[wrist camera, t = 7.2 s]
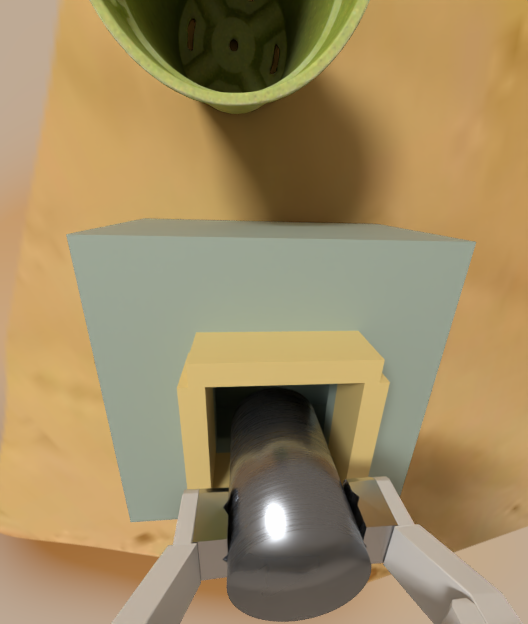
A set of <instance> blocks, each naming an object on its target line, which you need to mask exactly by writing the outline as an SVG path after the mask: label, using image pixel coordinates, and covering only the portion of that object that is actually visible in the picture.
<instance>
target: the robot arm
mask: <svg viewBox="0 0 528 624" xmlns="http://www.w3.org/2000/svg"><path fill="white" fill-rule="evenodd" d="M343 488H344V491H345V494H346V496H347V499H348V502H349V504H350V507H351V510H352V512H353V515H354V518H355V520H356V523H357V526H358V528H359V531H360V534H361V536H362V539H363V542H364V544H365V547H366V550H367V552H368V555H369V558H370V561H371V564H373V563H384V564H383V565H384V566H385V567H386V568H387V569H388V571H389V572H390V573H391V574H392V575H393V576H394V578H395V579H396V580H397V581H398V582H399V583H400V585H401V586H402V587H403V588H404V589H405V590H406V592H407V593H408V594H409V595H410V596H411V597H412V599H413V600H414V601H415V602H416V603H417V605H418V606H419V607H420V608H421V609H422V610H423V612H424V613H425V614H426V615H427V616H428V617H429V619H430V620H431V621H432V622H433V623H434V624H522V622H521V621H520V619H519V617H518V616H517V614H516V613H515V611H514V610H513V609H512V607H511V605H510V604H509V602H508V601H507V600H506V598H505V597H504V595H503V594H502V592H500V591H499V590H498V589H497V588H496V587H494V586H493V585H492V584H491V583H490V582H488V581H487V580H486V579H484V577H482V576H481V575H480V574H479V573H477V572H476V571H475V570H474V569H473V568H471V567H470V566H469V565H468V564H467V563H465V562H464V561H463V560H462V559H461V558H459V557H458V556H457V555H456V554H454V553H453V552H452V551H451V550H450V549H448V548H447V547H446V546H445V545H444V544H442V543H441V542H440V541H439V540H438V539H436V538H435V537H434V536H433V535H431V534H430V533H429V532H428V531H427V530H425V529H424V528H423V527H422V526H421V525H419V524H414V522H413V520H412V518H411V517H410V515H409V513H408V511H407V510H406V508H405V506H404V504H403V502H402V501H401V499H400V497H399V495H398V493H397V492H396V490H395V488H394V486H393V484H392V483H391V481H390V479H389V478H388V477H387V476H381V477H363V478H351V479H345V480H344V481H343ZM228 521H229V487H226V488H205V489H186V490H184V492H183V495H182V499H181V505H180V510H179V515H178V521H177V526H176V532H175V537H174V542H173V545H168V546H167V548H166V549H165V550H164V552H163V553H162V555H161V556H160V557H159V559H158V560H157V562H156V563H155V564H154V565H153V567H152V568H151V570H150V571H149V572H148V574H147V575H146V576H145V578H144V579H143V580H142V582H141V583H140V585H139V586H138V587H137V589H136V590H135V592H134V593H133V594H132V596H131V597H130V598H129V600H128V601H127V602H126V604H125V605H124V607H123V608H122V609H121V611H120V612H119V613H118V615H117V616H116V617H115V619H114V620H113V621H112V623H111V624H180V622H181V621H182V619H183V617H184V614H185V613H186V611H187V609H188V607H189V605H190V603H191V601H192V599H193V597H194V595H195V593H196V591H197V589H198V587H199V585H200V583H201V580H208V579H216V578H223V577H227V559H228V535H229V525H228Z"/></svg>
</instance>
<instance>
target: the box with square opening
mask: <svg viewBox="0 0 528 624" xmlns="http://www.w3.org/2000/svg"><path fill="white" fill-rule="evenodd" d="M66 235H67V240H68V244H69V249H70V253H71V258H72V262H73V267H74V271H75V275H76V280H77V284H78V289H79V293H80V298H81V302H82V307H83V311H84V316H85V320H86V325H87V329H88V333H89V338H90V342H91V347H92V351H93V356H94V360H95V365H96V369H97V374H98V378H99V382H100V387H101V391H102V396H103V400H104V405H105V409H106V414H107V418H108V423H109V427H110V432H111V436H112V440H113V445H114V449H115V454H116V458H117V463H118V467H119V472H120V476H121V481H122V485H123V490H124V494H125V498H126V503H127V507H128V512H129V516H130V521H131V522H141V521H156V520H171V519H178V515H179V510H180V505H181V499H182V495H183V492H184V490H186V489H205V488H226V487H229V483H230V445H231V420H232V416H233V413H234V411H235V409H236V407H237V406H238V405H239V404H240V402H242V401H243V400H244V399H245V398H246V397H247V396H249V395H251V394H252V393H255V392H257V391H259V390H263V389H267V388H275V387H278V388H287V389H291V390H294V391H297V392H299V393H300V394H302V395H303V396H305V397H306V398H307V399H308V400H309V402H310V403H311V404H312V406H313V408H314V411H315V414H316V416H317V419H318V422H319V424H320V427H321V430H322V432H323V435H324V438H325V440H326V443H327V446H328V448H329V451H330V454H331V456H332V459H333V462H334V464H335V467H336V470H337V472H338V475H339V478H340V480H341V483H342V486H343V481H344V480H345V479H351V478H363V477H381V476H387V477H388V478H389V479H390V481H391V483H392V484H393V486H394V488H395V490H396V492H397V493H398V495H399V497H400V495H401V491H402V488H403V485H404V481H405V478H406V475H407V471H408V468H409V465H410V461H411V458H412V455H413V451H414V448H415V445H416V441H417V438H418V435H419V431H420V428H421V425H422V421H423V418H424V415H425V411H426V408H427V404H428V401H429V398H430V394H431V391H432V388H433V384H434V381H435V378H436V374H437V371H438V368H439V364H440V361H441V358H442V354H443V351H444V348H445V344H446V341H447V338H448V334H449V331H450V328H451V324H452V321H453V318H454V314H455V311H456V308H457V304H458V301H459V298H460V294H461V291H462V288H463V284H464V281H465V278H466V274H467V271H468V268H469V264H470V261H471V258H472V254H473V251H474V248H475V244H476V242H474V241H469V240H463V239H457V238H452V237H446V236H441V235H435V234H430V233H424V232H419V231H413V230H408V229H402V228H397V227H391V226H386V225H380V224H356V223H313V222H270V221H227V220H184V219H139V220H134V221H129V222H125V223H120V224H115V225H110V226H105V227H100V228H95V229H90V230H86V231H81V232H76V233H71V234H66Z"/></svg>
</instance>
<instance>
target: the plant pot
mask: <svg viewBox="0 0 528 624" xmlns="http://www.w3.org/2000/svg"><path fill="white" fill-rule="evenodd" d="M369 1H370V0H254V1H249V0H90V2H91V4H92V6H93V7H94V9H95V11H96V12H97V14H98V15H99V17H100V19H101V20H102V22H103V23H104V25H105V26H106V28H107V29H108V31H109V32H110V33H111V35H112V36H113V37H114V38H115V40H116V41H117V42H118V43H119V45H120V46H121V47H122V48H123V49H124V50H125V51H126V52H127V53H128V55H129V56H130V57H131V58H132V59H133V60H134V61H135V62H136V63H137V64H139V65H140V66H141V67H142V68H143V69H144V70H145V71H147V72H148V73H149V74H150V75H152V76H153V77H154V78H156V79H157V80H158V81H160V82H161V83H163V84H164V85H166V86H168V87H169V88H171V89H173V90H174V91H176V92H178V93H180V94H182V95H184V96H186V97H189V98H191V99H193V100H197V101H200V102H203V103H207V104H209V105H210V106H212V107H213V108H215V109H217V110H219V111H222V112H226V113H230V114H243V113H248V112H251V111H254V110H256V109H258V108H260V107H261V106H263V105H264V104H265V103H269V102H273V101H276V100H278V99H281V98H283V97H285V96H288V95H290V94H292V93H294V92H296V91H297V90H299V89H301V88H302V87H304V86H305V85H307V84H308V83H309V82H311V81H312V80H313V79H314V78H316V77H317V76H318V75H319V74H320V73H321V72H322V71H323V70H324V69H325V68H326V67H327V66H328V65H329V64H330V63H331V62H332V61H333V60H334V59H335V58H336V56H337V55H338V54H339V53H340V52H341V50H342V49H343V48H344V46H345V45H346V43H347V42H348V40H349V39H350V37H351V36H352V34H353V33H354V31H355V30H356V28H357V26H358V24H359V22H360V20H361V18H362V16H363V14H364V12H365V10H366V8H367V6H368V3H369ZM191 19H195V21H196V26H195V31H194V39H193V50H192V51H190V49H189V48H188V46H187V42H188V32H187V29H188V25H189V22H190V20H191ZM233 39H235V40H237V42H238V49H237V50H236V51H232V50H231V49H230V47H229V45H230V41H231V40H233ZM275 45H277V46H278V48H279V49H280V52H279V60H278V67H277V69H276V72H274V74H270V69H271V65H272V62H273V56H274V47H275Z"/></svg>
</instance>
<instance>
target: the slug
mask: <svg viewBox="0 0 528 624" xmlns="http://www.w3.org/2000/svg"><path fill="white" fill-rule="evenodd" d="M228 525H229V535H228V559H227V593H228V596H229V599H230V600H231V602H232V603H233V605H234V606H235V607H237V608H238V609H239V610H240V611H242V612H243V613H245V614H247V615H249V616H252V617H255V618H258V619H262V620H268V621H278V622H279V621H281V622H283V621H285V622H286V621H298V620H305V619H309V618H314V617H317V616H320V615H323V614H326V613H329V612H331V611H333V610H335V609H337V608H339V607H341V606H343V605H344V604H346V603H347V602H348V601H350V600H352V599H353V598H354V597H355V596H356V595H357V594H358V593H359V592H360V591H361V590H362V589H363V588H364V586H365V585H366V583H367V581H368V579H369V577H370V573H371V561H370V558H369V555H368V552H367V550H366V547H365V544H364V542H363V539H362V536H361V534H360V531H359V528H358V526H357V523H356V520H355V518H354V515H353V512H352V510H351V507H350V504H349V502H348V499H347V496H346V494H345V491H344V488H343V486H342V483H341V480H340V478H339V475H338V472H337V470H336V467H335V464H334V462H333V459H332V456H331V454H330V451H329V448H328V446H327V443H326V440H325V438H324V435H323V432H322V430H321V427H320V424H319V422H318V419H317V416H316V414H315V411H314V408H313V406H312V404H311V403H310V402H309V400H308V399H307V398H306V397H305V396H303V395H302V394H300V393H299V392H297V391H294V390H291V389H287V388H278V387H275V388H267V389H263V390H259V391H257V392H255V393H252V394H251V395H249V396H247V397H246V398H245V399H244V400H243V401H242V402H240V404H239V405H238V406H237V407H236V409H235V411H234V413H233V416H232V420H231V445H230V483H229V521H228Z"/></svg>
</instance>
